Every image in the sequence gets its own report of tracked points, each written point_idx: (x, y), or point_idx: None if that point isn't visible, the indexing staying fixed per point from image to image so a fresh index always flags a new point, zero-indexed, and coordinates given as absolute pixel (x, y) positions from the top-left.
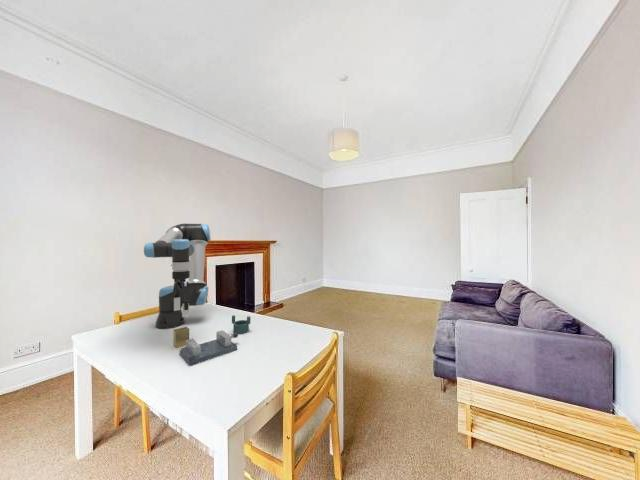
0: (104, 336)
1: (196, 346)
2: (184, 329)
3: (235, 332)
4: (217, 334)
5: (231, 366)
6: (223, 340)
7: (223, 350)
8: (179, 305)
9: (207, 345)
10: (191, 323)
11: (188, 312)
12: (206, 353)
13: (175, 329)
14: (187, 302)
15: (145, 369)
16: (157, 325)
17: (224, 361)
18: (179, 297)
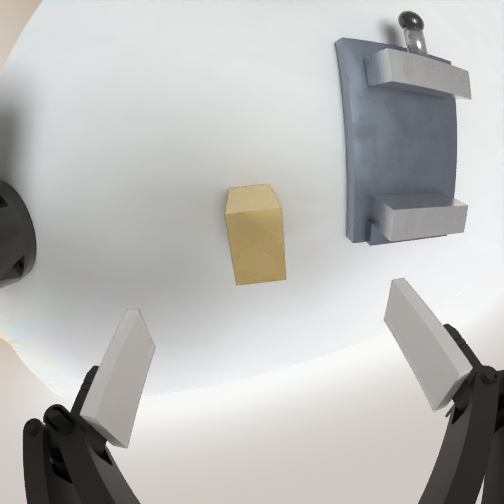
0: (66, 373)
1: (465, 220)
2: (275, 233)
3: (418, 18)
4: (398, 84)
5: (498, 140)
6: (448, 95)
7: (455, 115)
8: (127, 346)
9: (388, 137)
10: (14, 152)
11: (418, 299)
12: (443, 170)
13: (239, 275)
14: (500, 379)
15: (366, 321)
16: (22, 277)
17: (476, 137)
18: (97, 421)
